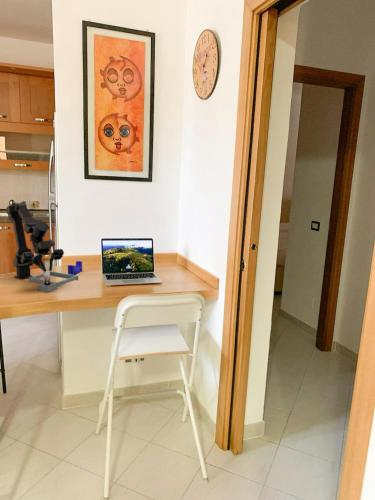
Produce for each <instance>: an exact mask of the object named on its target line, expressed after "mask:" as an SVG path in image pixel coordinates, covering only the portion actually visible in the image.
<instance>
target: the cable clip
mask: <svg viewBox="0 0 375 500" xmlns="http://www.w3.org/2000/svg"><path fill="white" fill-rule="evenodd" d="M82 272H83V261H80V260H76V262H75V265H73V264H68V265H67V274H71V275H78V274H79V273H82Z"/></svg>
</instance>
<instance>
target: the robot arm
mask: <svg viewBox="0 0 375 500" xmlns="http://www.w3.org/2000/svg"><path fill="white" fill-rule="evenodd" d="M27 207H28V206H27V203H24V202H22V203H21V202H19V203H18V202H16V203H14V204H9V205H8V206H6V209H5V212H6V214H7V217H8V219H9V220H10V221H11V222H12V226H13V231H14V232H13V233H14V237H15V243H16V247H17V248H16V251H15V252H14V258H13V261H12V266H13V267H15V268H16V275H14V278H16V279H22V280H25V279H29V278H30V277H33V275H31V268H30V267H31V266H32V267H33V265H35V266H37V267H38V268H39V269H40V270H41V271H43V273H44V272H45V271H46V270H45V267H44V261H43V259H42V255H43V254H51V258H50V271H53V262H54V261H59V260H62V258H63V256H64V254H65V252H64V249H62V248H57V249H53V252H50V251H51V249H52V248H53V247H55V245H56V243H55V240H54V239H53V238H51V239H48V240H45V239H44V237H46V235H47V233H48V230H49V229H50V227H49V224H47V223H46V221H43V219H36V218H34V217H33V215H32V214H31V212H30V210H29V208H27ZM25 234H29V242H30V243H31V245H32V249H31V248H29V247H28V245H27V240H26V235H25ZM50 248H51V249H50ZM32 251H33V252H34V253H33V252H32Z"/></svg>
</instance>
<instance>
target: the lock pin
mask: <svg viewBox="0 0 375 500" xmlns="http://www.w3.org/2000/svg"><path fill="white" fill-rule="evenodd" d="M50 258H51V254H43V255H42V260H43V264H44V267H45V270H46V271H45V272H44V271H43V273H44V277H43V280H44V283H45V284H49V283H50V281H51V276H50Z"/></svg>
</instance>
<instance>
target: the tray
mask: <svg viewBox="0 0 375 500" xmlns="http://www.w3.org/2000/svg"><path fill="white" fill-rule="evenodd" d="M50 277H56V278H61V279H62V278H63V280H59V281H57V282H56V281H51V280H50V282H53V283H57V287H59V286H62V285H65V284H68V283H70V282H73V281H79V275H78V274H76V275H71V274H68V273H64V272H58V271H54V270H52V271H50ZM42 278H44V272H43V273H40V274H38V275H32V277H29V278H28V282H32V283H38V284H40V283H43V282H44V279H42Z"/></svg>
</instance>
